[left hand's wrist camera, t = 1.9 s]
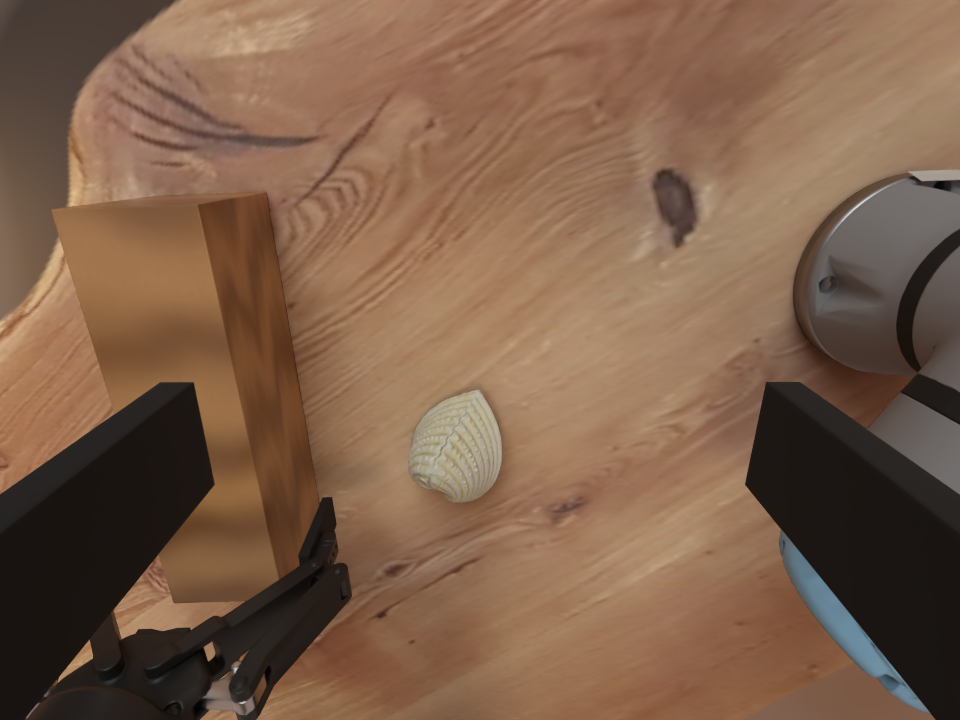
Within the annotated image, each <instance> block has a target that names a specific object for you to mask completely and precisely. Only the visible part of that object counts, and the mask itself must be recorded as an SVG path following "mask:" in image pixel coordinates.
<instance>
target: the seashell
mask: <svg viewBox="0 0 960 720" xmlns="http://www.w3.org/2000/svg"><path fill="white" fill-rule="evenodd" d="M501 463H502V442H501V436H500V432H499V428H498V424H497V422H496V420H495V417H494V414H493V413H492V410H491V408H490V406H489V405H488V403H487V401H486V400H485V398H484V396H483V394H482V393H481V391H480V390H474V391H471V392H467V393H463V394H461V395H458V396H455V397H451V398H449V399H447V400H444V401H443V402H441V403H439V404H438V405H437V406H435V407H434V408H432V409H431V410H430V411H428V413H427V414H426V415H425V416H424V417H423V418H422V420H421V421H420V422H419V424H418V426H417V428H416V430H415V432H414V435H413V439H412V444H411V451H410V454H409V461H408V470H409V474H410V476H411V478H412V479H413V481H415V482H416V483H417V484H418V485H419V486H421V487H423V488H426V489H435V490H438V491H442V493H443V494H444V496H445V497H446V498H447V499H448V500H450V501H452V502H458V503H460V502H470V501H473V500H476V499H478V498H480V497H481V496H483V495H484V494H485V493H486V492H487V491H488V490H489V489H490V488H491V487H492V486H493V484H494V483H495V481H496V478H497V476H498V474H499V471H500V467H501Z"/></svg>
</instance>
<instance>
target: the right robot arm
mask: <svg viewBox="0 0 960 720" xmlns="http://www.w3.org/2000/svg"><path fill="white" fill-rule="evenodd" d="M335 527H336V518H335V512H334V506H333V500H332V497H324V498H322V500H321V503H320V505H319V507H318V510H317V512H316V514H315V517H314V519H313V521H312V524H311V526H310V528H309V531H308V533H307V535H306V538H305V540H304V542H303V545H302V547H301V549H300V552H299V554H298V558H299V563H300V566H299V567H297V568H296V569H294V570H293V571H291V572H290V573H288V574H287V575H285V576H284V577H282V578H281V579H279V580H278V581H276V582H275V583H273V584H272V585H270V586H269V587H267V588H266V589H264V590H263V591H261V592H260V593H258V594H257V595H255V596H254V597H252V598H251V599H249V600H248V601H246V602H245V603H243V604H242V605H240V606H239V607H237V608H236V609H234V610H233V611H231V612H230V613H228V614H227V615H225V616H223V617H219V616H213V617H211V618H209V619H208V620H206V621H205V622H203V623H202V624H200V625H199V626H197V627H195V628H194V629H192V630H191V629H190V628H175V629H171V630H166V631H158V630H154V629H138V631H137V632H136V634H133V635H130V636H128V637H126V638H124V639H121V636H120V632H119V628H118V625H117V621H116V618H115V614H114V610H113V611H112V612H111V613H110V615H109V616H108V617H107V618H106V620H105V621H104V622H103V623H102V624H101V626H100V627H99V628H98V629H97V631H96V632H95V633H94V634H93V636H92V637H91V638H90V643H91V647H92V652H93V659H92V660H90V661H88V662H87V663H85V664H84V665H82V666H81V667H79V668H78V669H76V670H75V671H73V672H72V673H70V674H69V675H67V676H66V677H65V678H63V679H62V680H61V681H60V682H59V683H58V679H59V678H58V679H57V680H56V681H55V682H54V684H53V685H52V686H51V687H50V689H49V690H48V691H47V692H46V694H45V695H44V696H43V697H42V698H41V700H40V701H39V702H38V703H37V705H36V706H35V707H34V708H33V710H32V711H31V712H30V713H29V714H28V716H27V717H26V718H25V719H24V720H200V719H201V718H202V717H203V716H204V715H205V714H206V713H207V712H208V711H209V710H222V711H234V712H236V715H237V718H238V720H256V719H257V718H258V716H259V715H260V713H261V711H262V709H263V707H264V705H265V703H266V701H267V699H268V697H269V695H270V693H271V691H272V689H273V687H274V685H275V684H276V683H277V682H278V681H279V679H280V678H281V677H282V676H283V675H284V674H285V673H286V671H287V670H288V669H289V668H290V667H291V666H292V665H293V664H294V662H295V661H296V660H297V659H298V658H299V657H300V656H301V654H302V653H303V652H304V651H305V650H306V649H307V648H308V647H309V645H310V644H311V643H312V642H313V641H314V640H315V639H316V637H317V636H318V635H319V634H320V633H321V632H322V631H323V630H324V628H325V627H326V626H327V625H328V624H329V623H330V622H331V620H332V619H333V618H334V617H335V616H336V615H337V614H338V613H339V611H340V610H341V609H342V608H343V607H344V606H345V605H346V603H347V602H348V601H349V600H350V599H351V597H352V591H351V585H350V579H349V573H348V567H347V565H346V564H344V563H337V564H335V565H334V562H335V559H336V556H337V553H338V546H337V540H336V534H335V531H334V530H335ZM210 642H213V646H214V649H215V652H216V653H215V656H214V658H213V659H212V660H210V661H209V662H208V660H207V657H206V653H205V650H204V646H206V645H207V644H209V643H210ZM248 650H249V652H248V653H247V654H246V656H245V657H244V659H243V660H242V661H238V660H239V658H240V657H241V656H242V655H243V654H244V653H246V652H247V651H248ZM228 672H230V673H229V674H228V675H227V676H225V677H224V678H222V677H223V676H224V675H226V674H227V673H228ZM220 678H222V679H220ZM219 679H220V680H219Z"/></svg>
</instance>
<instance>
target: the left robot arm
mask: <svg viewBox="0 0 960 720" xmlns="http://www.w3.org/2000/svg"><path fill="white" fill-rule="evenodd" d="M908 172H909V173H906V174H900V175H896V176H892V177H889V178H886V179H883V180H880V181H878V182H875V183H873V184H871V185H869V186H867V187H865V188H864V189H862V190H860V191H858V192H857V193H855V194H854V195H852V196H851V197H850V198H848V199H847V200H846V201H844V202H843V203H842V204H841V205H839V206H838V207H837V208H836V209H835V210H834V211H833V212H832V213H831V214H830V215H829V216H828V217H827V218H826V219H825V221H824V222H823V223H822V224H821V225H820V227H819V228H818V229H817V231H816V232H815V234H814V235H813V237H812V238H811V240H810V242H809V244H808V245H807V247H806V249H805V251H804V254H803V256H802V258H801V261H800V264H799V267H798V270H797V275H796V280H795V287H794V302H795V309H796V315H797V318H798V321H799V324H800V326H801V328H802V330H803V332H804V333H805V335H806V337H807V338H808V339H809V340H810V342H811V343H812V344H813V345H814V346H815V347H816V348H817V349H819V350H820V351H821V352H823V353H824V354H826V355H828V356H829V357H831V358H833V359H834V360H836V361H838V362H840V363H841V364H843V365H845V366H848V367H850V368H852V369H855V370H858V371H863V372H867V373H876V374H889V375H897V376H905V377H914V378H913V379H912V380H911V381H910V382H909V383H908V385H907V386H906V387H905V388H904V389H903V390H902V391H901V392H899V393H898V395H897V396H896V397H895V398H894V399H893V400H892V401H891V402H890V403H889V405H888V406H887V407H886V408H885V409H884V410H883V411H882V412H881V413H880V415H879V416H878V417H877V418H876V419H875V420H874V421H873V422H872V423H871V425H870V426H869V427H868V428H867V429H866V428H864V427H863V426H861V425H860V424H859V423H857V422H856V421H854V420H853V419H851V418H850V417H849V416H847V415H846V414H844V413H843V412H841V411H840V410H839V409H837V408H836V407H834V406H833V405H832V404H830V403H829V402H827V401H826V400H824V399H823V398H822V397H820V396H819V395H817V394H816V393H814V392H813V391H812V390H810V389H809V388H807V387H806V386H804V385H803V384H802V383H800V382H766V386H765V391H764V395H763V400H762V405H761V410H760V415H759V420H758V424H757V429H756V434H755V439H754V444H753V449H752V453H751V458H750V463H749V468H748V473H747V478H746V483H745V485H746V486H747V488H748V489H749V490H750V491H751V493H752V494H753V495H754V496H755V497H756V499H757V500H758V501H759V502H760V504H761V505H762V506H763V507H764V509H765V510H766V511H767V512H768V514H769V515H770V516H771V517H772V518H773V520H774V521H775V522H776V523H777V525H778V526H779V527H780V528H781V532H780V537H779V545H780V552H781V555H782V558H783V563H784V567H785V569H786V571H787V574H788V576H789V578H790V580H791V582H792V583H793V585H794V587H795V589H796V590H797V592H798V594H799V595H800V597H801V598H802V600H803V601H804V603H805V604H806V606H807V607H808V609H809V610H810V611H811V613H812V614H813V615H814V617H815V618H816V619H817V621H818V622H819V623H820V624H821V626H822V627H823V628H824V629H825V630H826V632H827V633H828V634H829V635H830V636H831V638H832V639H833V640H834V641H835V642H836V643H837V644H838V645H839V647H840V648H841V649H842V650H843V651H844V652H845V653H846V654H847V655H848V656H849V657H850V658H851V659H852V660H853V661H854V662H855V663H856V664H857V665H858V666H859V667H860V668H861V669H862V670H863V671H864V672H866V673H867V674H868V675H869V676H871V677H877V678H878V680H879V681H880V682H881V683H882V685H883V686H884V687H885V688H886V690H887V691H888V692H889V693H891V694H892V695H893V696H895V697H896V698H898V699H899V700H901V701H902V702H903V703H905V704H907V705H909V706H911V707H913V708H915V709H918V710H920V711H923V712H925V713H930V714H932V716H933V717H934V718H935V719H936V720H960V169H959V170H932V171H908ZM214 485H215V483H214V478H213V473H212V468H211V463H210V458H209V453H208V449H207V444H206V439H205V434H204V429H203V424H202V420H201V415H200V410H199V405H198V400H197V395H196V391H195V386H194V382H160V383H158V384H157V385H156V386H154V387H153V388H151V389H150V390H148V391H147V392H146V393H144V394H143V395H141V396H140V397H138V398H137V399H136V400H134V401H133V402H131V403H130V404H128V405H127V406H126V407H124V408H123V409H121V410H120V411H119V412H117V413H116V414H114V415H113V416H111V417H110V418H109V419H107V420H106V421H104V422H103V423H101V424H100V425H99V426H97V427H96V428H94V429H93V430H91V431H90V432H89V433H87V434H86V435H84V436H83V437H81V438H80V439H79V440H77V441H76V442H74V443H73V444H71V445H70V446H69V447H67V448H66V449H64V450H63V451H62V452H60V453H59V454H57V455H56V456H54V457H53V458H52V459H50V460H49V461H47V462H46V463H44V464H43V465H42V466H40V467H39V468H37V469H36V470H34V471H33V472H32V473H30V474H29V475H27V476H26V477H24V478H23V479H22V480H20V481H19V482H17V483H16V484H14V485H13V486H12V487H10V488H9V489H7V490H6V491H5V492H3V493H2V494H0V720H24V719H25V718H26V717H27V716H28V714H29V713H30V712H31V711H32V710H33V708H34V707H35V706H36V705H37V703H38V702H39V701H40V700H41V698H42V697H43V696H44V695H45V694H46V692H47V691H48V690H49V689H50V687H51V686H52V685H53V684H54V682H55V681H56V680H57V679H58V678H59V676H60V675H61V674H62V673H63V671H64V670H65V669H66V668H67V666H68V665H69V664H70V663H71V661H72V660H73V659H74V658H75V657H76V655H77V654H78V653H79V652H80V650H81V649H82V648H83V647H84V645H85V644H86V643H87V642H88V641H89V639H90V638H91V637H92V636H93V634H94V633H95V632H96V631H97V629H98V628H99V627H100V626H101V624H102V623H103V622H104V621H105V620H106V618H107V617H108V616H109V615H110V613H111V612H112V611H113V610H114V608H115V607H116V606H117V605H118V604H119V602H120V601H121V600H122V599H123V597H124V596H125V595H126V594H127V592H128V591H129V590H130V589H131V587H132V586H133V585H134V584H135V583H136V581H137V580H138V579H139V578H140V576H141V575H142V574H143V573H144V571H145V570H146V569H147V568H148V567H149V565H150V564H151V563H152V562H153V560H154V559H155V558H156V557H157V555H158V554H159V553H160V552H161V551H162V549H163V548H164V547H165V546H166V544H167V543H168V542H169V541H170V539H171V538H172V537H173V536H174V534H175V533H176V532H177V531H178V530H179V528H180V527H181V526H182V525H183V523H184V522H185V521H186V520H187V518H188V517H189V516H190V515H191V514H192V512H193V511H194V510H195V509H196V507H197V506H198V505H199V504H200V502H201V501H202V500H203V499H204V497H205V496H206V495H207V494H208V493H209V491H210V490H211V489H212V488H213V486H214Z"/></svg>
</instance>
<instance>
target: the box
mask: <svg viewBox="0 0 960 720" xmlns="http://www.w3.org/2000/svg"><path fill="white" fill-rule="evenodd" d="M51 212H52V215H53V218H54V221H55V224H56V228H57V231H58V234H59V237H60V240H61V244H62V247H63V250H64V253H65V256H66V260H67V263H68V266H69V269H70V272H71V276H72V279H73V282H74V285H75V288H76V292H77V295H78V298H79V301H80V304H81V308H82V311H83V314H84V317H85V320H86V324H87V327H88V330H89V333H90V336H91V340H92V343H93V346H94V349H95V352H96V356H97V359H98V362H99V365H100V368H101V372H102V375H103V378H104V381H105V384H106V388H107V391H108V394H109V397H110V400H111V404H112V407H113V410H114V413H115V414H116V413H117V412H119V411H120V410H121V409H123V408H124V407H126V406H127V405H128V404H130V403H131V402H133V401H134V400H136V399H137V398H138V397H140V396H141V395H143V394H144V393H146V392H147V391H148V390H150V389H151V388H153V387H154V386H156V385H157V384H158V383H160V382H194V386H195V391H196V395H197V400H198V405H199V410H200V415H201V420H202V424H203V429H204V434H205V439H206V444H207V449H208V453H209V458H210V463H211V468H212V473H213V478H214V483H215V485H214V486H213V488H212V489H211V490H210V491H209V493H208V494H207V495H206V496H205V497H204V499H203V500H202V501H201V502H200V504H199V505H198V506H197V507H196V509H195V510H194V511H193V512H192V514H191V515H190V516H189V517H188V518H187V520H186V521H185V522H184V523H183V525H182V526H181V527H180V528H179V530H178V531H177V532H176V533H175V534H174V536H173V537H172V538H171V539H170V541H169V542H168V543H167V544H166V546H165V547H164V548H163V549H162V551H161V552H160V553H159V557H160V560H161V563H162V567H163V570H164V573H165V576H166V579H167V583H168V586H169V589H170V592H171V595H172V599H173V602H174V603H194V602H224V601H248V600H249V599H251V598H252V597H254V596H255V595H257V594H258V593H260V592H261V591H263V590H264V589H266V588H267V587H269V586H270V585H272V584H273V583H275V582H276V581H278V580H279V579H281V578H282V577H284V576H285V575H287V574H288V573H290V572H291V571H293V570H294V569H296V568H297V566H298V564H299V558H298V554H299V552H300V549H301V547H302V545H303V542H304V540H305V538H306V535H307V533H308V531H309V528H310V526H311V524H312V521H313V519H314V517H315V514H316V512H317V510H318V507H319V499H318V494H317V488H316V482H315V476H314V470H313V464H312V458H311V453H310V447H309V441H308V435H307V429H306V423H305V417H304V412H303V406H302V400H301V394H300V388H299V382H298V376H297V371H296V365H295V359H294V353H293V347H292V341H291V335H290V330H289V324H288V318H287V312H286V306H285V300H284V294H283V289H282V283H281V277H280V271H279V265H278V259H277V253H276V247H275V242H274V236H273V230H272V224H271V218H270V212H269V206H268V201H267V195H266V192H251V193H224V194H197V195H170V196H152V197H144V198H136V199H129V200H121V201H113V202H105V203H98V204H90V205H82V206H74V207H67V208H59V209H52V210H51Z"/></svg>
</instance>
